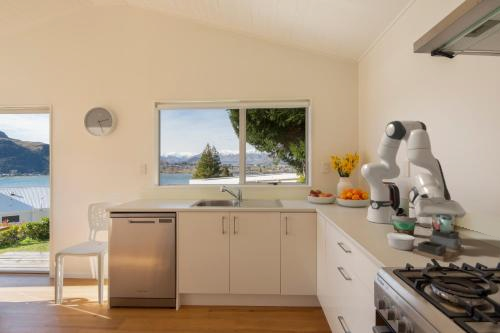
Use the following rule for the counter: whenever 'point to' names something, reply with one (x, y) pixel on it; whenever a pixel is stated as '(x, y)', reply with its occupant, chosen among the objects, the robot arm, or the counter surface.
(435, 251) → the dock station
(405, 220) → the food container
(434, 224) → the coffee cup
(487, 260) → the counter surface
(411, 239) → the ramekin
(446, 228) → the teal cylinder
